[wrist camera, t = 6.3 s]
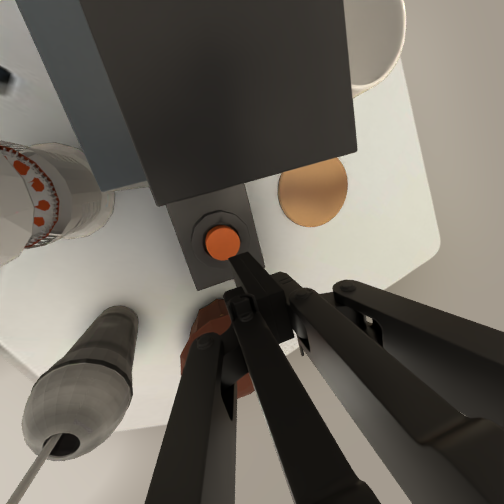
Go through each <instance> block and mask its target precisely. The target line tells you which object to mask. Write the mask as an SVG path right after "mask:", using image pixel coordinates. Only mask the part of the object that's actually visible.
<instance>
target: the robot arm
mask: <svg viewBox="0 0 504 504" xmlns="http://www.w3.org/2000/svg"><path fill="white" fill-rule="evenodd" d="M228 260H229V263H230V267H231V270H232V273H233V277H234V280H235V283H236V287H237V288H234V289H231V290H229V291H226V292H225V294H224V296H223V298H224V301H225V304H226V307H227V310H228V313H229V316H230V319H231V325H230V327H229V328H228V329H227V330H226V331H225V332H224V333H222V334H221V335H219V334H218V333H214V332H210V333H205V334H202V335H201V336H199V337H197V338H196V339H195V340H194V341H193V342H192V344H191V346H190V348H189V352H188V355H187V359H186V362H185V366H184V369H183V373H182V376H181V380H180V383H179V386H178V390H177V393H176V397H175V400H174V404H173V407H172V411H171V414H170V418H169V421H168V424H167V428H166V431H165V435H164V438H163V442H162V445H161V449H160V452H159V456H158V459H157V463H156V466H155V469H154V473H153V477H152V480H151V483H150V487H149V490H148V494H147V497H146V501H145V504H235V464H236V422H237V419H236V418H237V381H238V380H239V379H241V378H242V377H243V376H244V375H246V374H247V373H248V372H249V375H250V378H251V380H252V383H253V386H254V389H255V392H256V395H257V398H258V400H259V404H260V406H261V409H262V412H263V415H264V418H265V421H266V424H267V427H268V430H269V432H270V435H271V438H272V441H273V444H274V447H275V449H276V453H277V455H278V458H279V461H280V464H281V467H282V469H283V473H284V475H285V478H286V481H287V484H288V487H289V490H290V493H291V496H292V499H293V502H294V504H381V503H380V502H379V500H378V499H377V497H376V496H375V494H374V493H373V491H372V490H371V489H370V487H369V486H368V485H367V484H366V483H365V482H364V481H361V480H359V478H358V477H357V476H356V474H355V473H354V471H353V470H352V468H351V466H350V465H349V463H348V461H347V460H346V458H345V456H344V455H343V453H342V451H341V450H340V448H339V446H338V444H337V443H336V441H335V439H334V438H333V436H332V434H331V433H330V431H329V429H328V427H327V426H326V424H325V422H324V421H323V419H322V417H321V416H320V414H319V412H318V410H317V409H316V407H315V405H314V404H313V402H312V400H311V399H310V397H309V395H308V393H307V392H306V390H305V388H304V387H303V385H302V383H301V382H300V380H299V378H298V377H297V375H296V373H295V372H294V370H293V368H292V366H291V365H290V363H289V361H288V360H287V358H286V356H285V354H284V353H283V351H282V349H281V348H280V346H279V344H280V343H282V342H285V341H287V340H290V339H292V338H294V333H293V330H294V331H295V332H296V334H297V338H298V343H299V347H300V352H301V355H302V356H304V352H303V350H304V351H305V352H306V354H307V355H308V357H309V358H310V360H311V361H312V362H313V364H314V365H315V367H316V368H317V370H318V371H319V372H320V374H321V375H322V376H323V378H324V379H325V381H326V382H327V384H328V385H329V386H330V388H331V389H332V391H333V392H334V394H335V395H336V396H337V398H338V399H339V400H340V402H341V403H342V405H343V406H344V407H345V409H346V411H347V412H348V413H349V415H350V416H351V417H352V419H353V420H354V422H355V423H356V425H357V426H358V427H359V429H360V430H361V432H362V433H363V435H364V436H365V437H366V438H367V440H368V442H369V443H370V444H371V446H372V447H373V449H374V450H375V451H376V453H377V454H378V456H379V457H380V458H381V460H382V461H383V463H384V464H385V465H386V467H387V468H388V470H389V471H390V472H391V474H392V476H393V477H394V478H395V480H396V481H397V483H398V484H399V485H400V487H401V488H402V489H403V491H404V492H405V494H406V495H407V497H408V498H409V500H410V501H411V502H412V504H504V332H502V331H499V330H496V329H493V328H490V327H488V326H485V325H482V324H479V323H476V322H473V321H470V320H467V319H464V318H461V317H459V316H456V315H453V314H450V313H447V312H444V311H441V310H439V309H436V308H433V307H430V306H427V305H424V304H421V303H419V302H416V301H413V300H410V299H407V298H404V297H401V296H398V295H395V294H392V293H390V292H387V291H384V290H381V289H378V288H375V287H373V286H370V285H367V284H364V283H361V282H358V281H354V280H342V281H339V282H337V283H336V284H334V285H333V292H330V293H324V294H318V293H317V292H316V291H315V290H313V289H310V288H302V287H301V286H300V285H299V284H298V283H297V282H296V281H295V280H293V279H292V278H291V277H290V276H289V275H288V274H287V273H283V272H278V273H275V274H272V275H269V274H268V272H267V271H266V270H265V269H264V268H263V267H262V266H261V265H260V264H259V263H258V262H257V260H256V259H255V258H254V257H253V256H252V255H251V254H250V253H249V252H248V251H247V252H244V253H241V254H238V255H235V256H232V257H229V258H228ZM366 316H368V317H370V318H372V320H373V323H369V322H367V321H366ZM460 412H461V413H460ZM463 414H464V415H465V416H464V415H463Z"/></svg>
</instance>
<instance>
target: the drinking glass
mask: <svg viewBox="0 0 504 504" xmlns="http://www.w3.org/2000/svg"><path fill="white" fill-rule="evenodd" d="M343 1H344V12H345V23H346V33H347V44H348V54H349V65H350V76H351V86H352V97H353V98H355V97H357V96H359V95H361V94H362V93H364V92H366V91H368V90H369V89H371V88H373V87H374V86H376V85H378V84H379V83H381V82H382V81H383V80H384V79H385V78H386V77H387V76H388V75H389V74H390V72H391V71H392V70H393V68H394V67H395V65H396V63H397V61H398V59H399V57H400V54H401V51H402V48H403V44H404V40H405V34H406V10H405V4H404V0H343Z"/></svg>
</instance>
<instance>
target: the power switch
mask: <svg viewBox="0 0 504 504" xmlns="http://www.w3.org/2000/svg"><path fill="white" fill-rule="evenodd" d="M166 207H167V210H168V213H169V215H170V218H171V221H172V224H173V226H174V229H175V232H176V235H177V237H178V240H179V243H180V245H181V248H182V251H183V254H184V256H185V259H186V262H187V264H188V267H189V270H190V273H191V275H192V278H193V281H194V284H195V286H196V289H197V291H199V290H202V289H205V288H208V287H211V286H214V285H217V284H219V283H222V282H225V281H228V280H231V279H234V277H233V273H232V270H231V267H230V263H229V260H217V259H215V258H213V257H212V256H211V255H210V254H209V252H208V250H207V247H206V244H205V239H206V235H207V233H208V232H209V230H211V229H212V228H213V227H215V226H218V225H225V226H228V227H230V228H231V229H233V230H234V231H235V232H236V233H237V235H238V237H239V239H240V248H239V250H238V252H237V254H236V255H238V254H241V253H244V252H247V251H248V252H249V253H250V254H251V255H252V256H253V257H254V258H255V259H256V260H257V262H258V263H259V264H260V265H261V266H262V267H263V268H265V265H264V261H263V257H262V253H261V249H260V245H259V241H258V237H257V233H256V229H255V225H254V221H253V217H252V213H251V209H250V205H249V201H248V197H247V193H246V189H245V185H244V183H243V184H239V185H236V186H232V187H228V188H225V189H221V190H218V191H214V192H210V193H207V194H203V195H200V196H196V197H192V198H189V199H185V200H182V201H178V202H174V203H171V204H167V205H166Z"/></svg>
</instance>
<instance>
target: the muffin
mask: <svg viewBox="0 0 504 504" xmlns="http://www.w3.org/2000/svg"><path fill="white" fill-rule="evenodd" d="M230 325H231V319H230V316H229V313H228V310H227V307H226V304H225V301H224V299H216V300H215V301H213V302H212V303H211V304H209V305H208V306H206V307H204V308H202V309H200V310H199V312H198V315H197V318H196V320H195V322H194V324H193V326H192V328H191V332H190V337H189V340H188V342H187V344H186V346H185V348H184V349H183V351H182V353H181V355H180V359H181V375H182V373H183V369H184V366H185V362H186V359H187V355H188V352H189V348H190V346H191V344H192V342H193V341H194V340H195V339H196V338H197V337H199V336H201V335H202V334H205V333H210V332H214V333H218V334H219V335H221V334H222V333H224V332H225V331H226V330H227V329H228V328H229V327H230ZM253 391H255V389H254V386H253V383H252V380H251V378H250V375H249V372H248V373H247V374H246V375H244V376H243V377H242V378H241V379H239V380H238V381H237V399H238V398H240V397H243V396H246V395H249V394H251V393H252V392H253Z"/></svg>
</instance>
